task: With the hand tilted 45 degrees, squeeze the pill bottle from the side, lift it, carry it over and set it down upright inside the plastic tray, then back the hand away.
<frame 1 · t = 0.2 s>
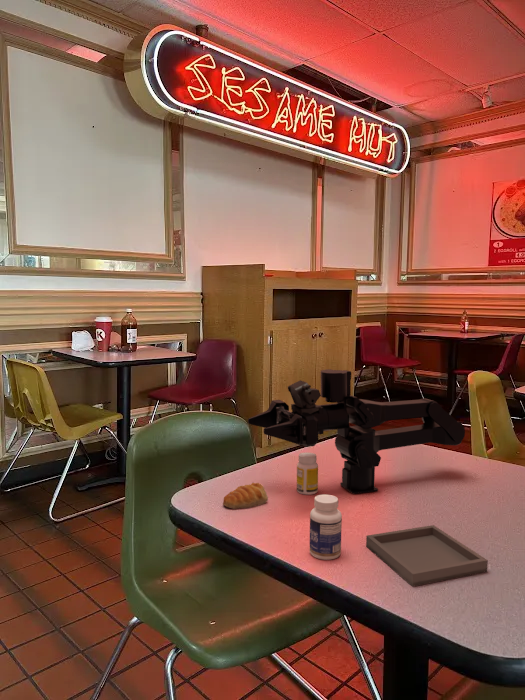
hand: (255, 426, 114), 17 cm above the table, tool horizontal, fingers open, 9 cm apart
tray: (423, 558, 92), on the table
pill bottle: (324, 554, 94), on the table
supplement bottle: (307, 492, 123), on the table
pastry: (246, 504, 116), on the table
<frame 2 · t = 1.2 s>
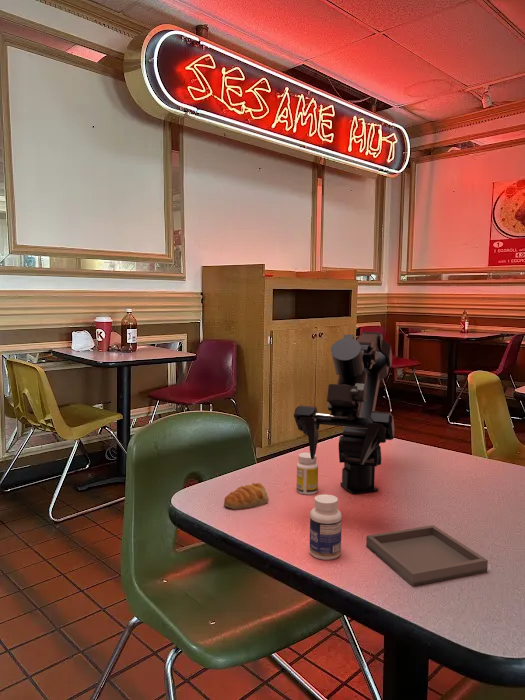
hand: (336, 461, 101), 14 cm above the table, tool tilted 45°, fingers open, 9 cm apart
nothing on the table moved.
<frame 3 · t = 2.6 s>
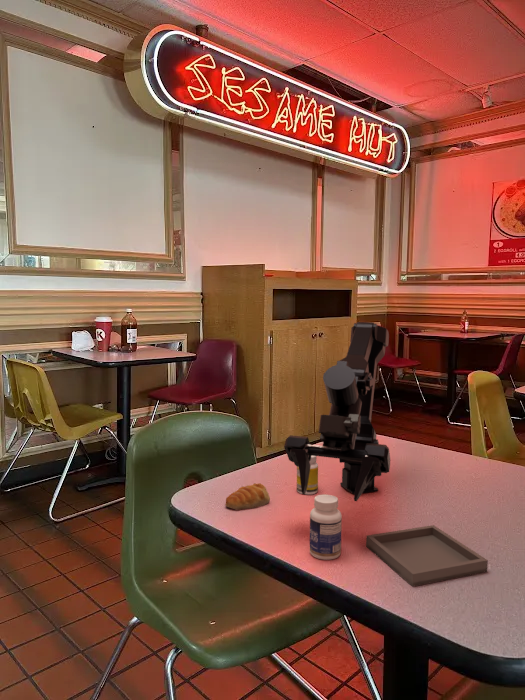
hand: (328, 496, 95), 9 cm above the table, tool tilted 45°, fingers open, 9 cm apart
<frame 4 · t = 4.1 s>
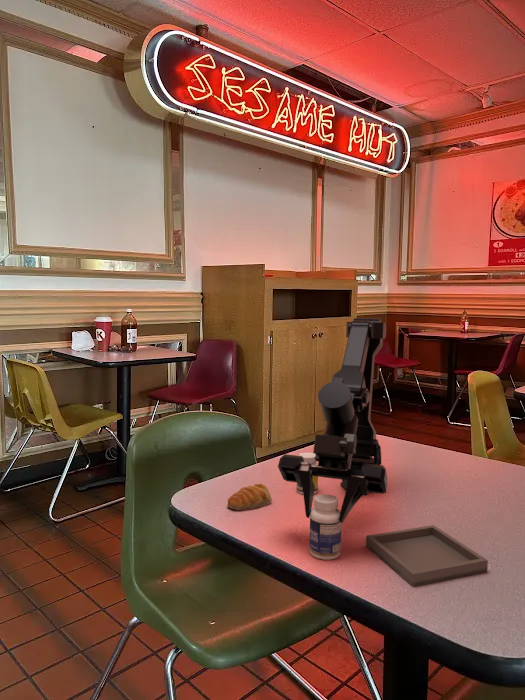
hand: (323, 519, 92), 7 cm above the table, tool tilted 45°, fingers closed on pill bottle, 5 cm apart
pill bottle: (324, 554, 94), on the table, touching gripper
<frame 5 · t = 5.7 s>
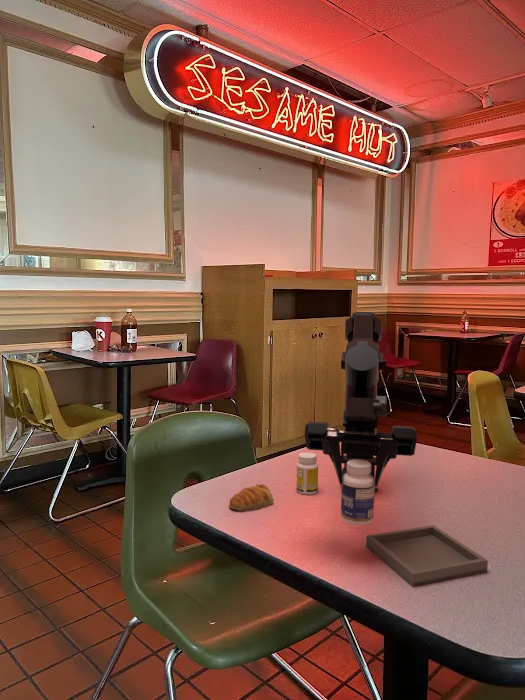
hand: (358, 483, 90), 13 cm above the table, tool tilted 45°, fingers closed on pill bottle, 5 cm apart
pill bottle: (356, 520, 92), point 6 cm above the table, touching gripper
when the fingers open (8 cm above the table, at t = 7.6 s): pill bottle stays where it is, resting on tray.
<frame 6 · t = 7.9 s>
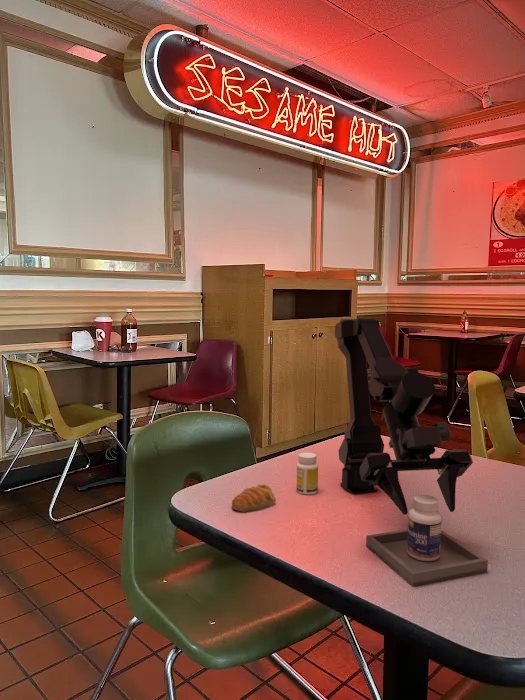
hand: (429, 512, 90), 9 cm above the table, tool tilted 45°, fingers open, 8 cm apart
pill bottle: (423, 555, 92), resting on tray
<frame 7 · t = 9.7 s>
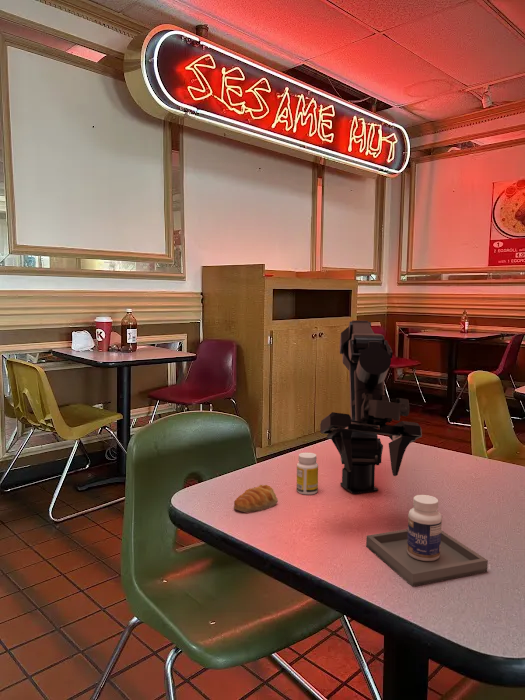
hand: (372, 473, 101), 11 cm above the table, tool tilted 30°, fingers open, 9 cm apart
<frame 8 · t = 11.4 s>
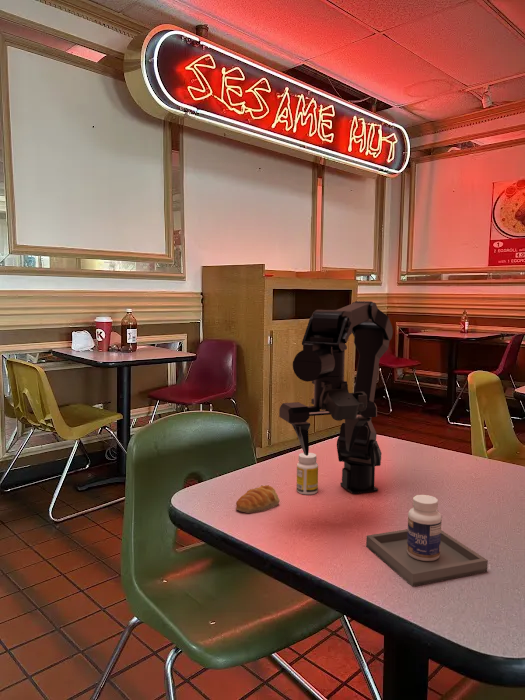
hand: (327, 453, 108), 13 cm above the table, tool pointing down, fingers open, 9 cm apart
at the end: pill bottle inside the target area on the tray (0.2 cm from its centre), point 0.4 cm above the tray's base; pill bottle tilted 0°; the gripper is holding nothing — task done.
